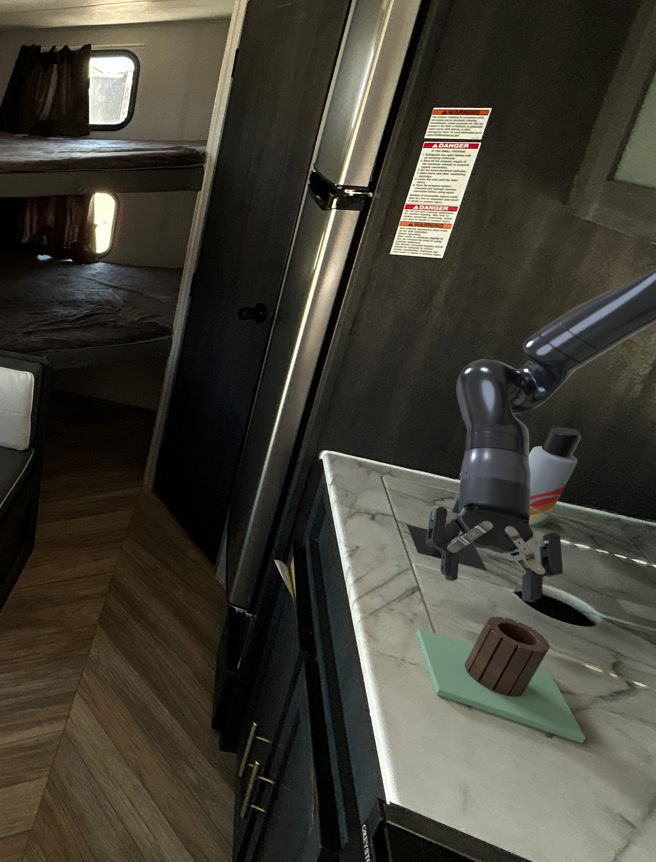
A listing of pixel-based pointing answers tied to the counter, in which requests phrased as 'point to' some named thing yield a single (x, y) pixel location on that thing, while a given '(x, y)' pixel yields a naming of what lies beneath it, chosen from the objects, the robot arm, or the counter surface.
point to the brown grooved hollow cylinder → (506, 656)
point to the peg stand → (451, 531)
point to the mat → (532, 708)
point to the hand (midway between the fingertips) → (489, 590)
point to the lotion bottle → (551, 471)
